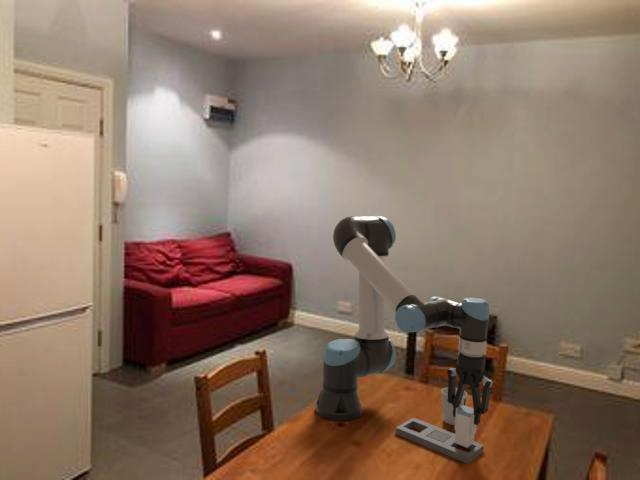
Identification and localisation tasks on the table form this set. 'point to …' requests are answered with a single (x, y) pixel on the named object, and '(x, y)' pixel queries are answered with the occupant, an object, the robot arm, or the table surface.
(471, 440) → the plug
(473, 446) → the panel
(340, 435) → the table surface
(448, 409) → the cup
